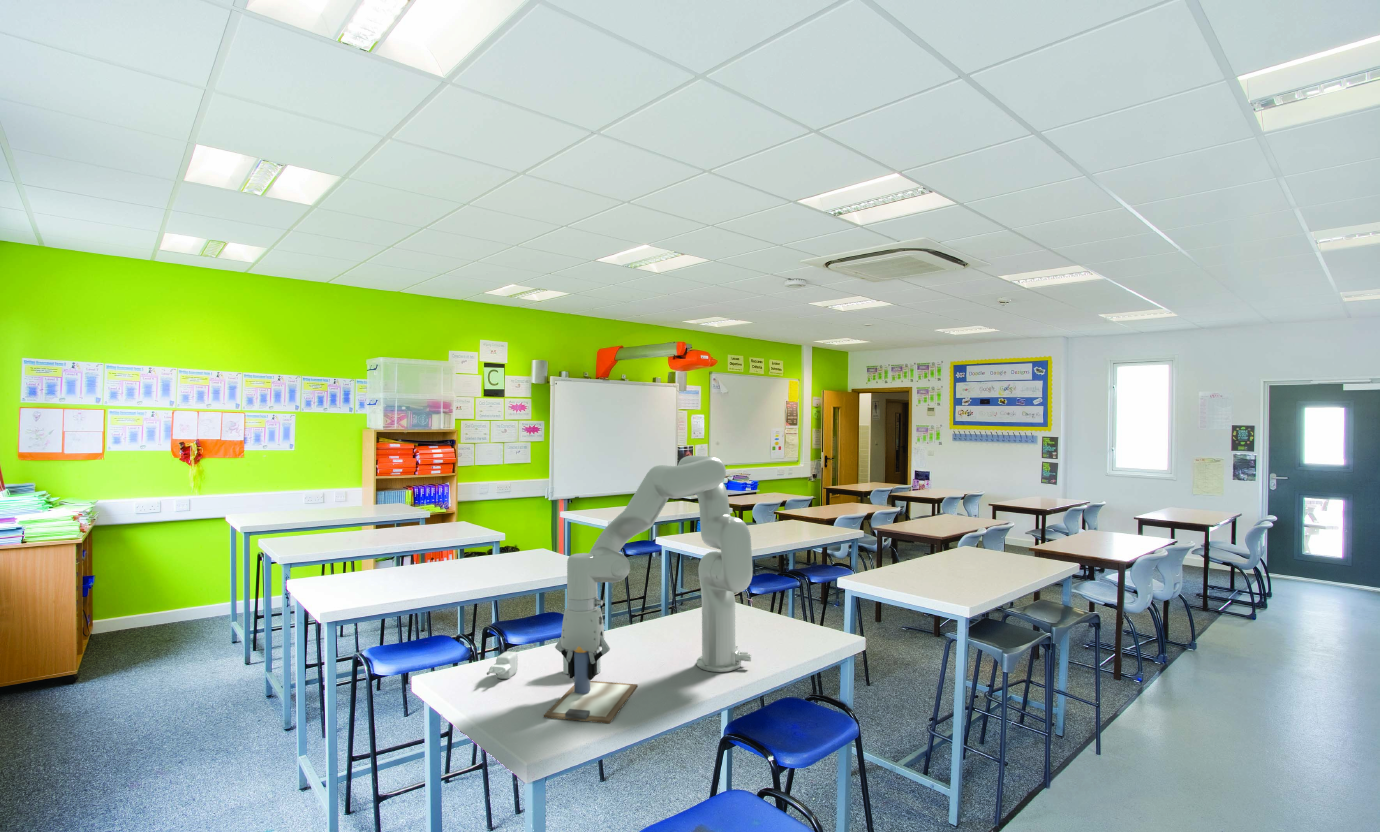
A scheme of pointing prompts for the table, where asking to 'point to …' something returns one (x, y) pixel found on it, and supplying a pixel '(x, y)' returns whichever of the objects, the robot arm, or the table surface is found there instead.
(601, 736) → the table surface
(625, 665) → the table surface
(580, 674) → the cylinder
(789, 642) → the table surface
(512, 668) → the power adapter
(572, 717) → the clipboard
